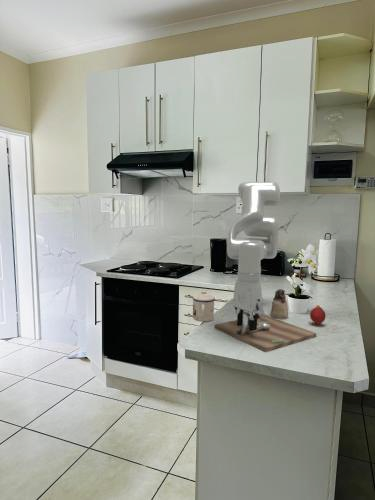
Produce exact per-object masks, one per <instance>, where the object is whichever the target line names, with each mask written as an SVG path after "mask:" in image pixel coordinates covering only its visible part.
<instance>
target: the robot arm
mask: <svg viewBox="0 0 375 500" xmlns="http://www.w3.org/2000/svg"><path fill="white" fill-rule="evenodd" d="M237 191H238V196H239V198H240V200H241V202H242V203H241V205H242V206H241V215H240V217H239V218H238V219H236V220H235V221H234V222H233V224H232V225H231V226H230V229H229V231H228V234H227V235H228V236H227V243H226V244H227V245H226V254H227V257H228V258H230V260H231V259H232V260H238V265H237V266H238V268H237V271H238V272H237V273H236V274H237V279H236V280H235V284H234V290H233V297H232V299H233V301H232V302H231V304H232V306H233V308H234V310H235V314H236V320H237V326H241V325H242V324H243V312H250V317H251V320H249V331H254V330H256V329H257V319H259V317H260V316H261V315H265V310H264V308H263V306H262V305H263V303H264V302H263V300H262V299H263V297H262V296H263V294H262V283H261V278H262V277H261V275H262V274H261V273H262V266H261V264H262V263H261V260H263V259H268V260H269V259H270V260H271V259H274V258H276V256H277V254H278V244H279V221H278V219H277V218H276V217H274V216H264V212H265V211H264V209H265V207H266V206H268V207H275V206H278V204H279V202H280V200H281V188H280V186H279V183H277V182H275V181H245V182H241V183H239V184H238V189H237ZM241 232H244V234H245V235H246V236H248V238H247V237H246V238H241V239H240V238H236V237H237V235H238V234H240V233H241Z"/></svg>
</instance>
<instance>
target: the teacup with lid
mask: <svg viewBox="0 0 375 500" xmlns="http://www.w3.org/2000/svg"><path fill="white" fill-rule="evenodd" d="M215 300H216V298H215V297H214V296H213V295H211V294H210V293H208V292H207V291H206V290H202V291H201V292H200V293H197V294H195V295H193V296H192V319H193V320H194V321H197V322H199V323H200V322H203V323H204V321H205V323H206V322H208V323H209V322H212V321H213V320H214V319H215V317H214V316H215Z"/></svg>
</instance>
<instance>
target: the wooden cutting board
mask: <svg viewBox="0 0 375 500" xmlns="http://www.w3.org/2000/svg"><path fill="white" fill-rule="evenodd" d="M259 322H268V323H270V329H267V330H265V329H261V330H257V331H253V332H251V333H249V334H246V333H245V334H239V335H238V334H236V332H237V331H239V330H242V325H241V326H237V319H235V320H232V321H226V322H221V323H217V324H214V329H216V330H218V331H221V332H223V333H225V334H227V335H229V336H231V337H233V338H234V339H237V340H239V341H242V342H244V343H245V344H248V345H250V346H252V347H254V348H257V349H259V350H261V351H262V352H265V353H267V352H271V351H274V350H278V349H280V348H284V347H287V346H290V345H293V344H297V343H299V342H303V341H306V340H307V341H308V340H310V339H313V338H316V337H317V333H316V332H313V331H311V330H308V329H305V328H303V327H299V326H297V325H294V324H292V323H288V322H285V321H284V320H283V321H282V320H281V319H277V318H273V317H271V316H268V315H267V314H266V315H265V314H263V315H261V316H260V317H259V319H257V326H258V325H259Z"/></svg>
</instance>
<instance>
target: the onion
mask: <svg viewBox="0 0 375 500" xmlns="http://www.w3.org/2000/svg"><path fill="white" fill-rule="evenodd" d="M326 317H327V315H326V312H325V310H324V309H323V308H322V307H321V306H320V305H319V304H317V305H316V306H314V307H313V308H312V310H311V311H310V313H309V318H310V320H311V321H312V323H314V324H315V325H320V324H322V323H324V322H325V320H326Z"/></svg>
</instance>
